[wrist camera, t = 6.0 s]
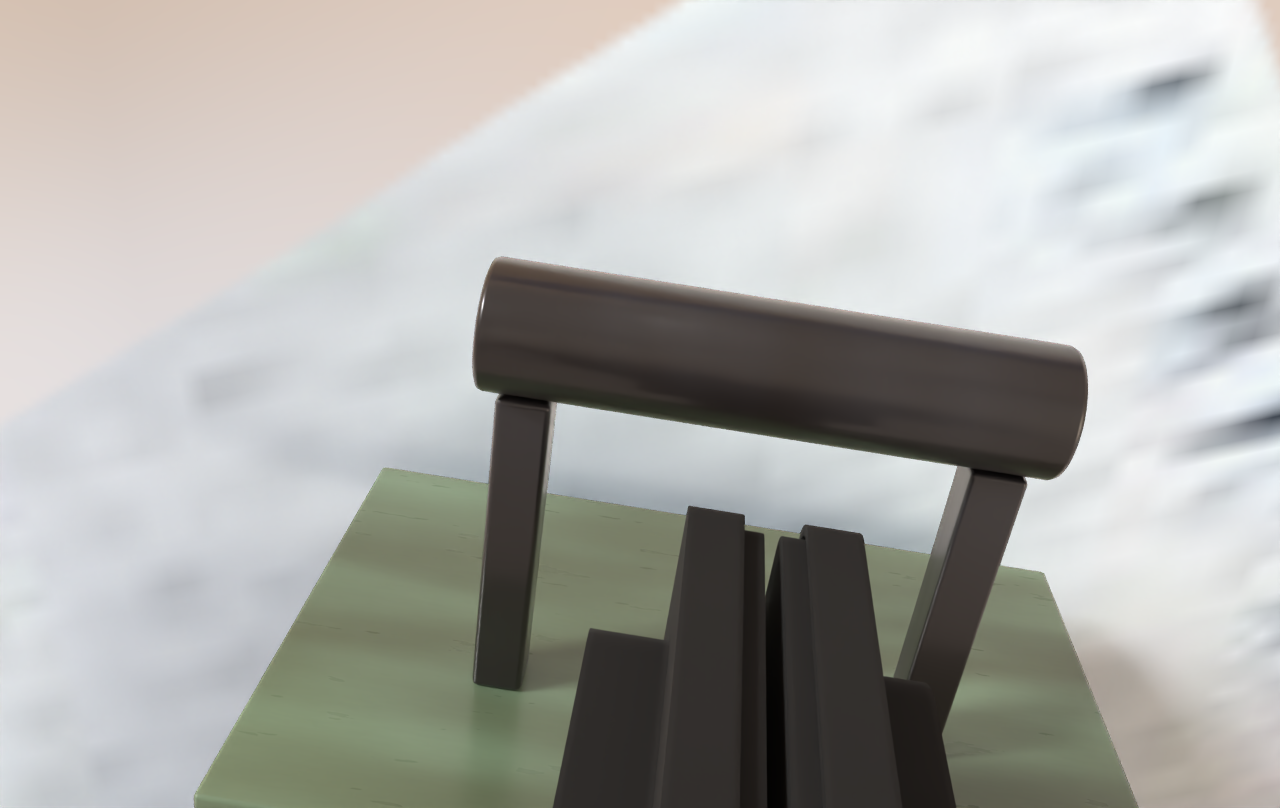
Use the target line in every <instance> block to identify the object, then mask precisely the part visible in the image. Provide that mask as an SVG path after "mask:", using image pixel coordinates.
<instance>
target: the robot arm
mask: <svg viewBox="0 0 1280 808" xmlns="http://www.w3.org/2000/svg"><path fill="white" fill-rule="evenodd" d="M553 808H956V803H955V798H954V793H953V788H952V783H951V778H950V773H949V768H948V762H947V757H946V752H945V747H944V742H943V737H942V732H941V727H940V722H939V717H938V712H937V707H936V702H935V698H934V695H933V692H932V689H931V688H930V686H929V685H928V684H927V683H924V682H917V681H911V680H905V679H899V678H893V677H887V676H883V669H882V662H881V655H880V648H879V641H878V634H877V627H876V620H875V613H874V606H873V599H872V592H871V585H870V578H869V571H868V564H867V557H866V550H865V543H864V539H863V535H861V534H860V533H854V532H848V531H842V530H836V529H829V528H823V527H817V526H811V525H804V527H803V528H802V531H801V533H800V537H799V539H797V538H791V537H785V536H781V537H780V538H779V541H778V544H777V548H776V552H775V556H774V561H773V565H772V569H771V574H770V578H769V582H768V586H767V591H766V595H765V538H764V533H760V532H754V531H748V530H745V516H744V515H743V514H737V513H730V512H724V511H718V510H712V509H706V508H699V507H693V506H689V507H688V511H687V515H686V520H685V525H684V531H683V536H682V542H681V547H680V553H679V558H678V564H677V569H676V575H675V580H674V586H673V591H672V597H671V602H670V608H669V613H668V618H667V624H666V629H665V635H664V640H661V639H655V638H649V637H643V636H637V635H630V634H624V633H618V632H612V631H606V630H600V629H594V628H590V629H589V632H588V637H587V641H586V646H585V651H584V656H583V661H582V666H581V671H580V676H579V680H578V685H577V690H576V695H575V700H574V705H573V710H572V715H571V720H570V725H569V730H568V735H567V740H566V744H565V749H564V754H563V759H562V764H561V769H560V774H559V779H558V784H557V789H556V794H555V799H554V804H553Z"/></svg>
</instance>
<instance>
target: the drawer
mask: <svg viewBox="0 0 1280 808" xmlns="http://www.w3.org/2000/svg"><path fill="white" fill-rule="evenodd" d="M472 369H473V378H474V382H475V386H476V387H477V388H478V389H480V390H481V391H487V392H493V393H499V395H498V397H497V399H496V401H495V412H494V424H493V436H492V448H491V460H490V471H489V483H488V484H487V483H480V482H474V481H468V480H462V479H455V478H449V477H443V476H436V475H430V474H424V473H418V472H411V471H405V470H399V469H393V468H383V469H382V470H381V472H380V474H379V476H378V477H377V479H376V481H375V483H374V484H373V486H372V488H371V490H370V491H369V493H368V495H367V496H366V498H365V500H364V502H363V503H362V505H361V507H360V509H359V510H358V512H357V514H356V516H355V517H354V519H353V521H352V522H351V524H350V526H349V528H348V529H347V531H346V533H345V535H344V536H343V538H342V540H341V542H340V543H339V545H338V547H337V548H336V550H335V552H334V554H333V555H332V557H331V559H330V561H329V562H328V564H327V566H326V568H325V569H324V571H323V573H322V574H321V576H320V578H319V580H318V581H317V583H316V585H315V587H314V588H313V590H312V592H311V594H310V595H309V597H308V599H307V600H306V602H305V604H304V606H303V607H302V609H301V611H300V613H299V614H298V616H297V618H296V620H295V621H294V623H293V625H292V626H291V628H290V630H289V632H288V633H287V635H286V637H285V639H284V640H283V642H282V644H281V646H280V647H279V649H278V651H277V652H276V654H275V656H274V658H273V659H272V661H271V663H270V665H269V666H268V668H267V670H266V672H265V673H264V675H263V677H262V678H261V680H260V682H259V684H258V685H257V687H256V689H255V691H254V692H253V694H252V696H251V698H250V699H249V701H248V703H247V704H246V706H245V708H244V710H243V711H242V713H241V715H240V717H239V718H238V720H237V722H236V724H235V725H234V727H233V729H232V730H231V732H230V734H229V736H228V737H227V739H226V741H225V743H224V744H223V746H222V748H221V750H220V751H219V753H218V755H217V756H216V758H215V760H214V762H213V763H212V765H211V767H210V769H209V770H208V772H207V774H206V776H205V777H204V779H203V781H202V782H201V784H200V786H199V788H198V789H197V791H196V793H195V795H194V807H195V808H553V804H554V799H555V794H556V789H557V784H558V779H559V774H560V769H561V764H562V759H563V754H564V749H565V744H566V740H567V735H568V730H569V725H570V720H571V715H572V710H573V705H574V700H575V695H576V690H577V685H578V680H579V676H580V671H581V666H582V661H583V656H584V651H585V646H586V641H587V637H588V632H589V629H590V628H594V629H600V630H606V631H612V632H618V633H624V634H630V635H637V636H643V637H649V638H655V639H661V640H664V635H665V629H666V624H667V618H668V613H669V608H670V602H671V597H672V591H673V586H674V580H675V575H676V569H677V564H678V558H679V553H680V547H681V542H682V536H683V531H684V525H685V520H686V515H681V514H674V513H668V512H662V511H656V510H649V509H643V508H637V507H631V506H624V505H618V504H612V503H606V502H599V501H593V500H587V499H581V498H574V497H568V496H562V495H555V494H549V493H547V488H548V479H549V470H550V461H551V452H552V443H553V434H554V425H555V416H556V408H557V403H563V404H569V405H575V406H581V407H588V408H594V409H600V410H607V411H613V412H619V413H626V414H632V415H638V416H645V417H651V418H657V419H664V420H670V421H676V422H682V423H689V424H695V425H701V426H708V427H714V428H720V429H727V430H733V431H739V432H746V433H752V434H758V435H765V436H771V437H777V438H783V439H790V440H796V441H802V442H809V443H815V444H821V445H828V446H834V447H840V448H847V449H853V450H859V451H866V452H872V453H878V454H884V455H891V456H897V457H903V458H910V459H916V460H922V461H929V462H935V463H941V464H948V465H954V466H958V467H957V470H956V473H955V477H954V480H953V483H952V486H951V490H950V493H949V496H948V499H947V503H946V506H945V509H944V513H943V516H942V519H941V522H940V526H939V529H938V532H937V535H936V539H935V542H934V545H933V549H932V552H931V554H925V553H919V552H912V551H906V550H900V549H894V548H887V547H881V546H875V545H869V544H865V550H866V557H867V564H868V571H869V578H870V585H871V592H872V599H873V606H874V613H875V620H876V627H877V634H878V641H879V648H880V655H881V662H882V669H883V676H887V677H893V678H899V679H905V680H911V681H917V682H924V683H927V684H928V685H929V686H930V688H931V689H932V692H933V695H934V698H935V702H936V707H937V712H938V717H939V722H940V727H941V732H942V737H943V742H944V747H945V752H946V757H947V762H948V768H949V773H950V778H951V783H952V788H953V793H954V798H955V803H956V808H1138V805H1137V803H1136V800H1135V798H1134V795H1133V793H1132V790H1131V788H1130V785H1129V783H1128V780H1127V778H1126V775H1125V773H1124V770H1123V768H1122V765H1121V763H1120V761H1119V758H1118V756H1117V753H1116V751H1115V748H1114V746H1113V743H1112V741H1111V738H1110V736H1109V733H1108V731H1107V728H1106V726H1105V723H1104V721H1103V718H1102V716H1101V713H1100V711H1099V709H1098V706H1097V704H1096V701H1095V699H1094V696H1093V694H1092V691H1091V689H1090V686H1089V684H1088V681H1087V679H1086V676H1085V674H1084V671H1083V669H1082V666H1081V664H1080V661H1079V659H1078V657H1077V654H1076V652H1075V649H1074V647H1073V644H1072V642H1071V639H1070V637H1069V634H1068V632H1067V629H1066V627H1065V624H1064V622H1063V619H1062V617H1061V614H1060V612H1059V609H1058V607H1057V605H1056V602H1055V600H1054V597H1053V595H1052V592H1051V590H1050V587H1049V585H1048V582H1047V580H1046V577H1045V575H1044V573H1042V572H1038V571H1031V570H1025V569H1019V568H1013V567H1006V566H1000V563H1001V560H1002V557H1003V555H1004V552H1005V549H1006V546H1007V543H1008V540H1009V537H1010V534H1011V531H1012V528H1013V525H1014V522H1015V519H1016V516H1017V514H1018V511H1019V508H1020V505H1021V502H1022V499H1023V496H1024V493H1025V490H1026V487H1027V481H1026V479H1025V477H1030V478H1036V479H1042V480H1050V479H1054V478H1057V477H1058V476H1060V475H1061V474H1062V473H1063V472H1064V471H1065V469H1066V468H1067V467H1068V465H1069V463H1070V462H1071V460H1072V458H1073V456H1074V453H1075V451H1076V449H1077V446H1078V443H1079V440H1080V437H1081V434H1082V430H1083V426H1084V421H1085V416H1086V409H1087V399H1088V379H1087V370H1086V365H1085V362H1084V359H1083V356H1082V355H1081V353H1080V352H1079V351H1078V350H1077V349H1075V348H1074V347H1072V346H1070V345H1064V344H1058V343H1051V342H1045V341H1039V340H1032V339H1026V338H1019V337H1013V336H1007V335H1000V334H994V333H987V332H981V331H975V330H968V329H962V328H956V327H949V326H943V325H936V324H930V323H924V322H917V321H911V320H904V319H898V318H892V317H885V316H879V315H872V314H866V313H860V312H853V311H847V310H841V309H834V308H828V307H821V306H815V305H809V304H802V303H796V302H789V301H783V300H777V299H770V298H764V297H758V296H751V295H745V294H738V293H732V292H726V291H719V290H713V289H706V288H700V287H694V286H687V285H681V284H674V283H668V282H662V281H655V280H649V279H643V278H636V277H630V276H623V275H617V274H611V273H604V272H598V271H591V270H585V269H579V268H572V267H566V266H560V265H553V264H547V263H540V262H534V261H528V260H521V259H515V258H508V257H498V258H495V259H494V261H493V262H492V264H491V266H490V268H489V270H488V272H487V275H486V278H485V281H484V284H483V288H482V292H481V297H480V301H479V306H478V312H477V317H476V324H475V332H474V341H473V356H472ZM745 530H748V531H754V532H760V533H764V538H765V595H766V591H767V586H768V582H769V578H770V574H771V569H772V565H773V561H774V556H775V552H776V548H777V544H778V541H779V538H780V537H781V536H785V537H791V538H797V539H799V537H800V533H793V532H787V531H781V530H775V529H768V528H762V527H756V526H750V525H745Z"/></svg>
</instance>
